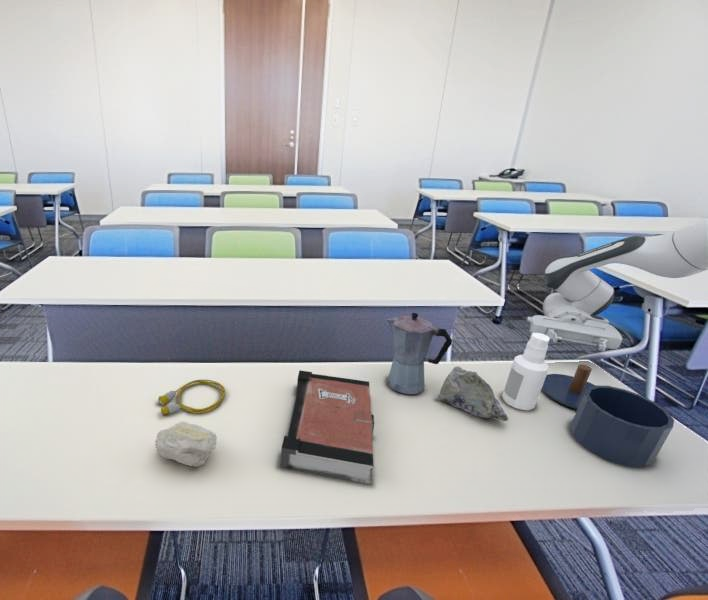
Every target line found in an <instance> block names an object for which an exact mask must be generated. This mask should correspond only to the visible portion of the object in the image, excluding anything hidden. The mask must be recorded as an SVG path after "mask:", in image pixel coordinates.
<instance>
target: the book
mask: <svg viewBox="0 0 708 600" xmlns="http://www.w3.org/2000/svg"><path fill="white" fill-rule="evenodd" d="M298 371H299V372H298V376H297V380H296V381H297V383H296V396H295V401H294V406H293V411H292V415H291V420H290V423H289V430H288V433H287V435H284V436H283V439H282V444H281V452H280V468H281V469H286V470H287V469H288V470H292V471H298V472H302V473H308V474H313V475H317V476H324V477H329V478H334V479H339V480H345V481H349V482H356V483H361V484H365V485H371V482H372V478H371V476H372V475H371V469H372V470H374V467H375V466H374V448H373V435H374V428H375V416H374V415H375V414H372V410H371V409H372V407H371V388H370V387H371V386H370V381H369V380H368V381H366V380H362V379H361V380H360V379H353V378H347V377H346V378H345V377H338V376H331V375H323V374H316V373H313V371H308V370H301V369H300V370H298Z"/></svg>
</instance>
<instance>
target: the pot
mask: <svg viewBox="0 0 708 600" xmlns="http://www.w3.org/2000/svg"><path fill="white" fill-rule="evenodd" d="M595 385H596V384H595ZM674 424H675V419H674V418H673V416H672V415H671V414H670V412H669V411H668V410H666V408H664V407H663V406H661V405H660V404H658V403H657V402H655V401H653V400H651V399H649V398H647V397H646V396H643V395H641V394H639V393H637V392H633V391H629V390H628V389H624V388H620V387H616V386H611V385H598V384H597V385H596V386H592V387H589V388H587V389H586V391H585V393H584V395H583V398H582V400H581V402H580V405H579V407H578V409H576V412H575V414H574V417H573V419H572V421H571V423H570V425H569V426H570V427H569V430H570V433H571V435H572V437H573V438H574V439H575V440H576V442H577V443H579V444H580V445H581V446H582V447H583V448H584V449H586V450H587V451H589V452H590V453H592V454H593V455H596V456H597V457H599V458H601V459H604V460H606V461H608V462H611V463H613V464H616V465H620V466H624V467H628V468H645V467H649V466H650V465H652V463H654V462H655V460H656V458H657V456H658V454H659V453H660V451H661V449H662V448H663V445H664V444H665V442H666V441H667V439H668V437H669V436H670V433H671V431H672V430H673V428H674Z"/></svg>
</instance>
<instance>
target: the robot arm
mask: <svg viewBox="0 0 708 600" xmlns="http://www.w3.org/2000/svg"><path fill="white" fill-rule="evenodd" d="M610 264H611V265H612V264H620V265H625V266H630V267H633V268H637V269H639V270H642V271H645V272H647V273H649V274H652V275H654V276H657V277H662V278H668V279H682V278H686V277H691V276H694V275H697V274H700V273H703V272H705V271H708V217H705V218H703V219H700V220H697V221H694V222H692V223H690V224H689V223H688V224H687V225H685V226H682V227H680V228H678V229H676V230H673V231H669V232H668V233H664V234H663V233H662V234H659V235H652V236H641V235H633V236H632V235H631V236H628V237H625V238H621V239H618V240H615V241H612V242H609V243H606V244H603V245H600V246H597V247H595V248H592V249H589V250H586V251H583V252H580V253H577V254H574V255H573V254H572V255H569V256H564V257H559V258H557V259H555V260H553V261H552V262H551V263H549V264H548V265H547V266H546V267H545V269H543V282H544V285H546V286H547V287H549V288H551V289H552V290H554V291H556V292H553V293H550V294H548V295H547V296H546V297H545V298H544V300H543V303H542V312H543V315H540V314H535V315H533V316H527V317H526V321H527V323H528V324H529V333H530V334H532V333H541V334H544V335H547V336H548V337H549V338H550V340H551V341H552V342H553V343H554V344H561V343H562V341H564V342H565V341H567V342H572V343H576V344H583V345H588V346H594V347H595V349H596V351H598V352H605V351H606V349H610V350H618V349H619V348H620V346H621V344H622V342H623V336H622V334H621V333H620V331H618V329H617V328H615V326H614V325H611V324H610V320H609V319H607V318H605V317H602V316H598V315H600V314H601V313H603V312H605V311H606V310H607V309H609V307H610V306H611V305H612V303H613V300H614V298H615V288H614V286H612V285H610V284H609V283H607V282H606V281H605V280H604V279H602V278H601V277H599V276H598V275H597V274H595V273H594V272H592V271H591V270H594V269H596V268H597V269H598V268H600V267H604V266H607V265H610Z"/></svg>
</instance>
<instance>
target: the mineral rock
mask: <svg viewBox="0 0 708 600" xmlns="http://www.w3.org/2000/svg"><path fill="white" fill-rule="evenodd" d="M438 399H439V400H440V401H441V402H445V403H448V404H449V405H452V407H454V408H458V409H461V410H463V412H466V413H470V414H471V415H474V416H475V417H478V418H484V419H493V420H498V421H502V422H507V421H509V417H508V415H507V413H506V412H505V410H504V408H503V407H502V406H501V403H500V401H499V400H498V399H497V398H496V396H495V394H494V390H493V388H492V387H491V385H490V384H489V383H487V381H486V380H485V379H483V378H482V377H481V376H480V375H479V374H478V373H477V371H471V370H469V371H468V370H465V369H463V368H462V367H460V366H459V365H458V366H454V367H453V369H452V370H451V371H450V372H449V374H448V375H447V376H446V378H445V379H444V380H443V384H442V386H441V387H440V389H439V393H438Z"/></svg>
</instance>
